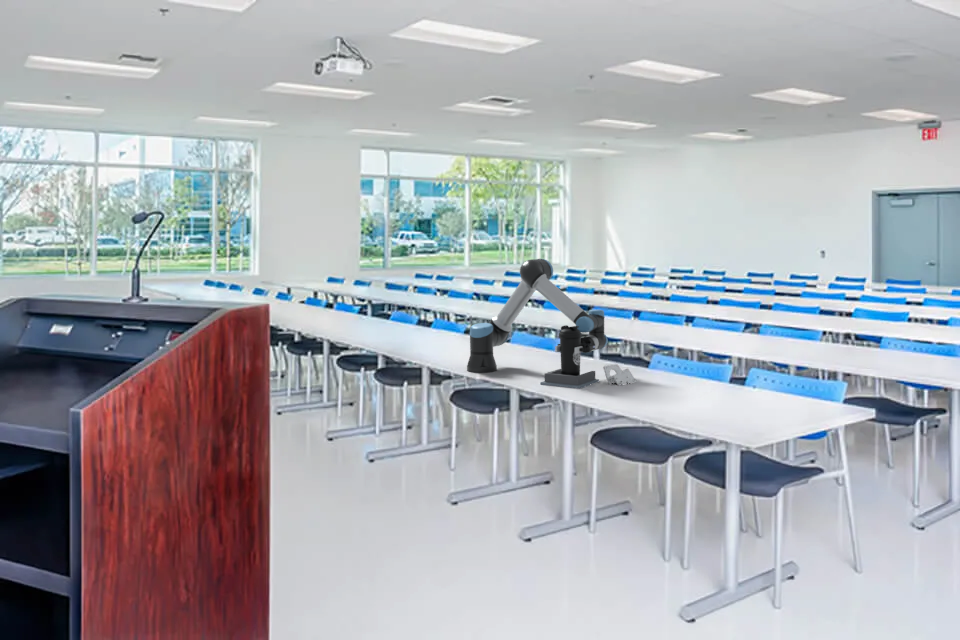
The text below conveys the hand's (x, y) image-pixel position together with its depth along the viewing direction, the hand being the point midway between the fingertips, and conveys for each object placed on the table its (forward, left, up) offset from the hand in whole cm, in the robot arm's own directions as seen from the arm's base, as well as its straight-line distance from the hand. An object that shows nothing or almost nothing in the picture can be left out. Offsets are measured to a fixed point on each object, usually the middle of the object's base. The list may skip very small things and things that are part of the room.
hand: (565, 350), depth 364 cm
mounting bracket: (+20, +16, -16) cm, 30 cm away
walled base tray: (0, +4, -16) cm, 17 cm away
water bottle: (0, +4, -13) cm, 13 cm away
